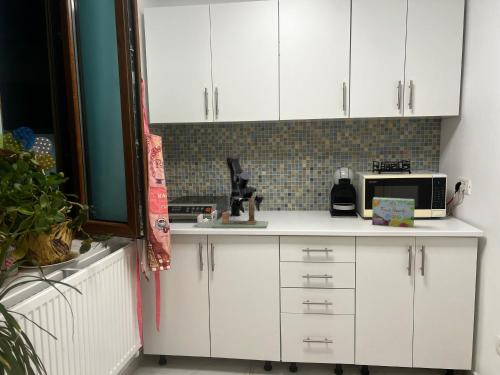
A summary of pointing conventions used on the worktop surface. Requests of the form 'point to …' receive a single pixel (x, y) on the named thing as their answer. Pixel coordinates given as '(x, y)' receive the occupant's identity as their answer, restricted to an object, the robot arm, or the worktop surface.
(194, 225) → the worktop surface
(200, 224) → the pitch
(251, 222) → the post with bar block
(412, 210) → the snack box
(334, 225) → the worktop surface
